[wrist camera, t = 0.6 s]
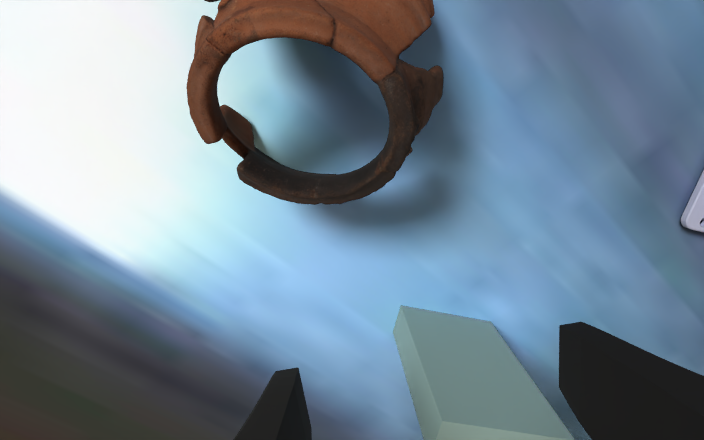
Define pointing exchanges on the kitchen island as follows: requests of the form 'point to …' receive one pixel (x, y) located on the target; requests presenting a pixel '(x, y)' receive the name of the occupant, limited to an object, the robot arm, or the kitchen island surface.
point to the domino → (469, 381)
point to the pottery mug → (346, 38)
